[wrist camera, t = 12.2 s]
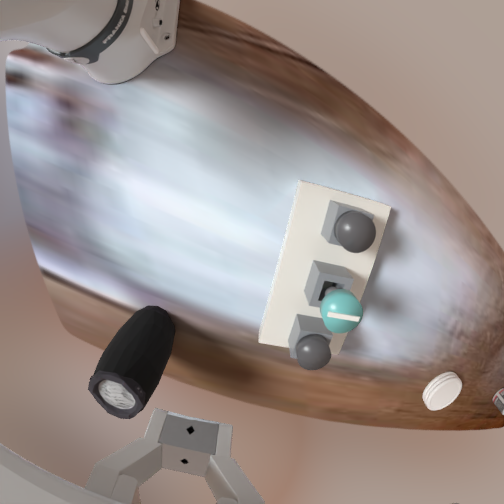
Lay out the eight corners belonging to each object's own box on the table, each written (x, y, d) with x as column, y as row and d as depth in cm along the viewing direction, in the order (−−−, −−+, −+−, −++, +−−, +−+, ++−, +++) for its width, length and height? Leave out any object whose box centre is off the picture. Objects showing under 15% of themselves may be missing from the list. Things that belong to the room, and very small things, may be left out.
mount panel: (298, 179, 44) (307, 184, 36) (383, 203, 44) (405, 212, 37) (258, 332, 51) (258, 360, 44) (334, 345, 52) (344, 372, 44)
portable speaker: (122, 311, 51) (71, 378, 32) (166, 296, 49) (123, 367, 31) (145, 349, 53) (107, 423, 34) (188, 337, 52) (160, 417, 33)
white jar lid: (425, 408, 59) (431, 417, 55) (417, 387, 56) (423, 397, 53) (458, 385, 57) (464, 394, 53) (453, 363, 54) (460, 372, 51)
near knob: (332, 201, 40) (345, 209, 34) (363, 210, 41) (380, 219, 35) (323, 235, 42) (334, 248, 36) (354, 242, 42) (369, 256, 36)
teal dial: (320, 273, 39) (331, 295, 33) (353, 280, 39) (369, 302, 33) (309, 305, 41) (318, 331, 34) (342, 311, 41) (355, 336, 35)
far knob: (297, 317, 46) (303, 340, 40) (327, 322, 46) (336, 345, 40) (289, 343, 47) (293, 367, 41) (317, 347, 47) (324, 371, 41)
